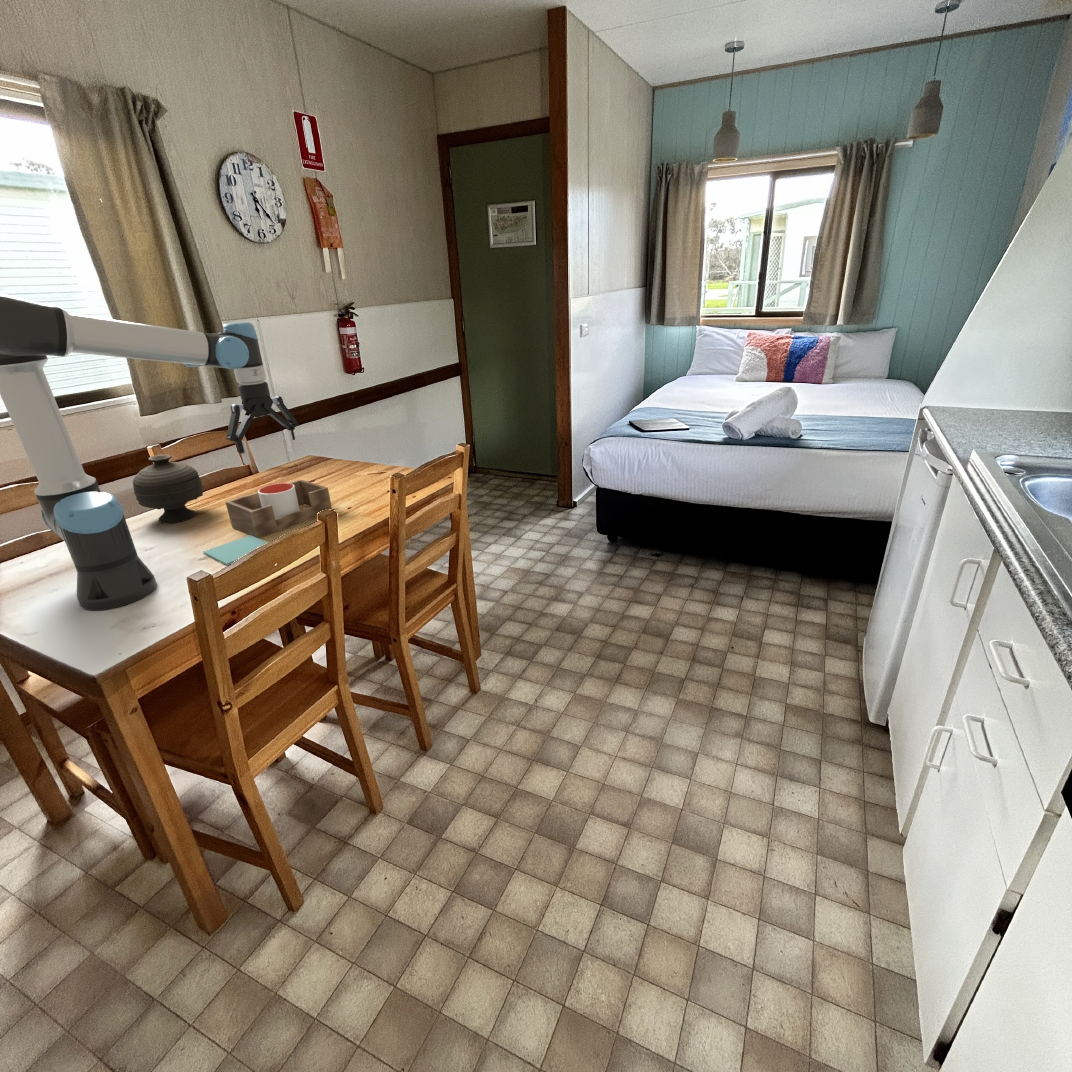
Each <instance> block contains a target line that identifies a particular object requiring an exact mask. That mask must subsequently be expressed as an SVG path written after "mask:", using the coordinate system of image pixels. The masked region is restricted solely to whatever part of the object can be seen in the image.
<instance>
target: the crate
mask: <svg viewBox="0 0 1072 1072" xmlns="http://www.w3.org/2000/svg"><path fill="white" fill-rule="evenodd" d="M289 483H290V484H293V485H294V486H295V490H296V495H297V500H298V504H299V507H301V506H308V507H307V508H304V509H300V511H298V512H295V513H292V514H289V515H286V516H283V517H280V518H277V519H275V516H274V512H273V508H272V505H268V506H265V507H262V506H261V502H260V497H259V493H258V491H257V492H254V493H251V494H248V495H244V496H241V497H237V498H233V499H231V500H226V501H224V502H225V506H226V509H227V512H228V517H229V519H230V520H229V521H230V525H231V528H233V529H234V530H237V531H239V532H242V533H244V534H246V535H247V536H249V535H252V536H254V537H256V538H258V539H261V538H264V537H267V536H270V535H272V534H276V533H278V532H282V531H284V530H287V529H289V528H292V527H295V526H299V525H300V524H304V523H306V522H309V521H312V520H315V519H318V518H317V513H318V512H320V511H322V510H325V509H332V510H333V507H332V501H331V497H330V496H331V495H330V491H329V488H328V487H327V486H324V485H321V484H317V483H314V482H309V481H307V480H304V479H298V480H294V481H290V482H289Z"/></svg>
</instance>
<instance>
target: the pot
mask: <svg viewBox="0 0 1072 1072" xmlns="http://www.w3.org/2000/svg"><path fill="white" fill-rule="evenodd" d="M172 458H173V457H172V455H171V454H169V453H167V454H164V453H163V454H159V455H157V454H156V455H152V456H149V457H148V459H147V460H148V461H149V462H151V463H153V464H151V465H148V466H146V467H144V468H143V469H141V470H139V472H138V473H136V475H135V476H134V477H133V479H132V487H133V493H134V495H135V499H136V500H137V502H138V504H139V505H140V506H142V507H144V508H148V509H156V510H163V513H162V514H161V515H160V516H159V517H158V522H159V523H161V524H177V523H182V522H185V521H187V520H190V519H193V518H194V517H196V515H197V512H196V510H193V509H190V508H188V507H187V506H186V504H187V503H189V502H191V501H194V500H197V499H199V498H200V497H203V495H204V492H203V490H204V487H203V484H202V483H203V481H202V479H201V478H200V476H199V472H198V471H197V469H195V467H193V466H191V465H188V464H186V463H183V462H179V461H170V459H172Z"/></svg>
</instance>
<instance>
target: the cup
mask: <svg viewBox="0 0 1072 1072" xmlns="http://www.w3.org/2000/svg"><path fill="white" fill-rule="evenodd" d="M290 483H291V482H288V483H287V482H281V483H273V484H268V485H265V486H263V487H261V488H259V489H258V491H257V492H258V493H259V497H260V502H261V506H262V507H265V506H268V505H272V508H273V512H274V516H275V519H277V518H280V517H283V516H286V515H289V514H292V513H295V512H298V511H301V509H300V506H299V504H298V500H297V495H296V490H295V486H294V485H293V484H290Z"/></svg>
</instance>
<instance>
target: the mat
mask: <svg viewBox="0 0 1072 1072" xmlns="http://www.w3.org/2000/svg"><path fill="white" fill-rule="evenodd" d="M266 543H269V542H267V541H265V540H263V539H261V538H259V539H258V538H256V537H254V536H252V535H246V536H244V537H241V538H238V539H236V540H233V541H229V542H226V543H223V544H221V545H219V546H214V547H212V548H209V549H206V550H204V551H202V553H203V554H204V555H206V556H208V557H209V558H211V559H213V560H215V561H217V562H219V563H221V564H223V565H225V566H227V565H228V566H229V565H230V566H231V565H232V564H231V563H233V562H234V561H236V560H238V558H240V557H242V556H244V555H245V554H248V553H249V552H250V551H252V550H254V549H256V548H257V547H259V546H262V545H264V544H266ZM233 564H234V563H233Z"/></svg>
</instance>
